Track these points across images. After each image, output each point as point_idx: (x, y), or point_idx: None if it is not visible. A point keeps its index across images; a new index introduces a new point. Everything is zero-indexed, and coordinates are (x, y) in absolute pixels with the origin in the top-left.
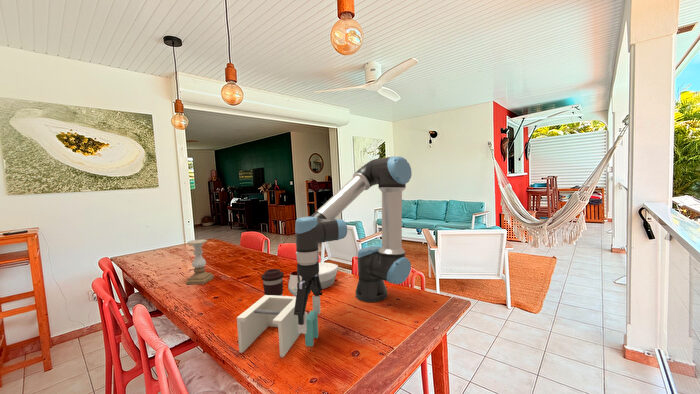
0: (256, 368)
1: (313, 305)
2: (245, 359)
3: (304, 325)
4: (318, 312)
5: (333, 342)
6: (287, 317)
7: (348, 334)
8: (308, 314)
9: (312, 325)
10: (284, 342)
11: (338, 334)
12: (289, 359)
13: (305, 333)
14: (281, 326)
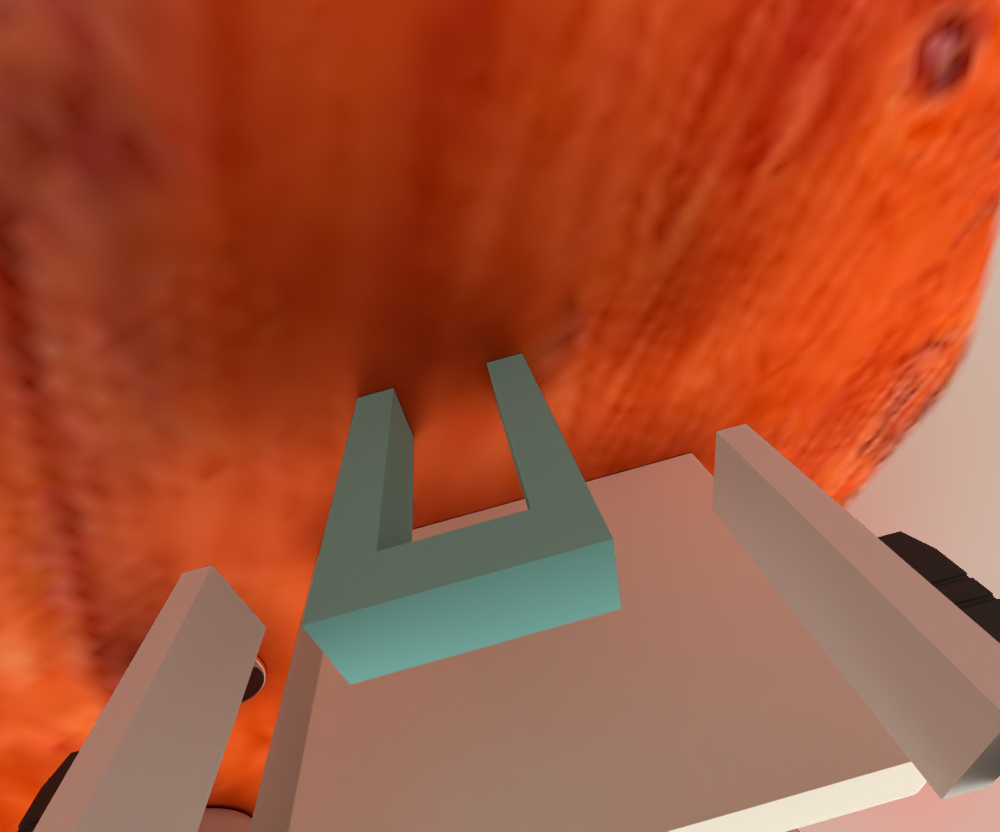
0: None
1: (216, 749)
2: None
3: (824, 512)
4: (216, 597)
5: (366, 190)
6: (747, 747)
7: (86, 71)
8: (467, 646)
9: (525, 475)
10: (715, 524)
11: (193, 219)
12: (706, 406)
13: (749, 431)
14: None
